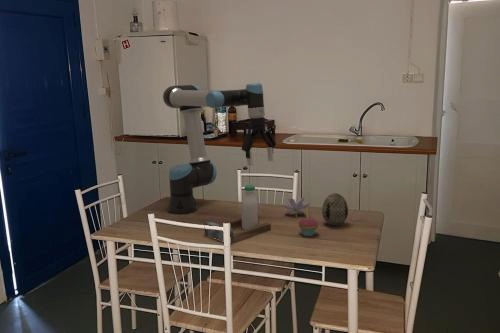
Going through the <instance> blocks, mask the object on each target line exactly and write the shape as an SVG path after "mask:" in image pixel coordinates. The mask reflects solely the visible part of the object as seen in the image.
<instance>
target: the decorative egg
mask: <svg viewBox="0 0 500 333" xmlns="http://www.w3.org/2000/svg"><path fill="white" fill-rule="evenodd" d="M321 212H322V213H321V214H322V218H323V219H324V221H325V222H326V223H327V224H328V225H330V226H333V227H336V226H337V227H338V226H340V225H343V223H345V221H346V220H347V218H348V214H349V206H348V203H347V201H346V199H345V197H344V196H343V195H342V194H339V193H338V192H337V193H336V192H335V193H334V192H332V193H331V194H329V195H328V196H327V197H326V198H325V199H324V201H323V204H322V207H321Z"/></svg>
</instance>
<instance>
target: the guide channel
mask: <svg viewBox="0 0 500 333" xmlns="http://www.w3.org/2000/svg"><path fill="white" fill-rule="evenodd" d="M228 222H229V223H230V224H231V229H230V237H231V244H230V245H232V244H235V243H238V242H241V241H243V240H246V239H250V238H252V237H255V236H259V235H260V234H263V233H266V232H269V231H271V230H272V228H271V227H272V226H271V225H272V223H270V222H267V221H266V222H264V223H259V225H257V226H254V227H252V228H249V229H246V230H243V229H242V230H239V231H238V232H234V229H237V228H240V227H242V217H239V218H236V219H233V220H230V221H227V222H225V223H228ZM205 225H209V226H219V227H223V223H219V224H218V223H215V222H212V221H210V220H208V221H205V222H204V226H205ZM205 235H206V237H207V236H209V237H208V238H210V237H212V238H211V239H213V238H216V239H219V240H221V241H223V231H217V230H206V229H205V228H204V236H205Z"/></svg>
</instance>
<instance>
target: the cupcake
mask: <svg viewBox="0 0 500 333" xmlns="http://www.w3.org/2000/svg"><path fill="white" fill-rule="evenodd" d="M308 210H309V209H308V206H307V207H306V208H305V214H306V218H305V217H304V218H302V219H301V220H300V221H299V222H298V227H299V229H300V230H301V233H302V236H305V237H312V236H315V232H316V230H317V229H318V228H319V226H320V225H319V222H318V221H317V220H316V219H314V218H310V217H309V211H308Z"/></svg>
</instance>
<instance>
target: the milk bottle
mask: <svg viewBox="0 0 500 333" xmlns="http://www.w3.org/2000/svg"><path fill="white" fill-rule="evenodd" d="M255 191H256V187H255V185H253V184H246V185H245V186H244V197H243V198H242V201H241V218H242V226H241V228H242V231H243V230H246V229H249V228H252V227H254V226H257V225H260V218H259V217H260V212H259V201H258V198H257V196H256V194H255Z"/></svg>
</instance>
